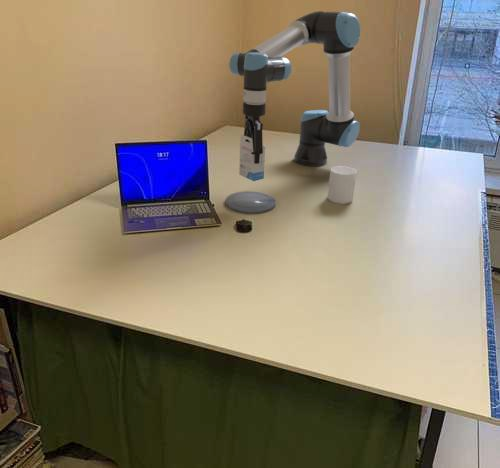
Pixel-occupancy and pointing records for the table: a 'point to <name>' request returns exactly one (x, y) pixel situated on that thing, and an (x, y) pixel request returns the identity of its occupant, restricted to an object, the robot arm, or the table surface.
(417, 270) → the table surface
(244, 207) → the dish
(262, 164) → the ink box
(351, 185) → the mug
